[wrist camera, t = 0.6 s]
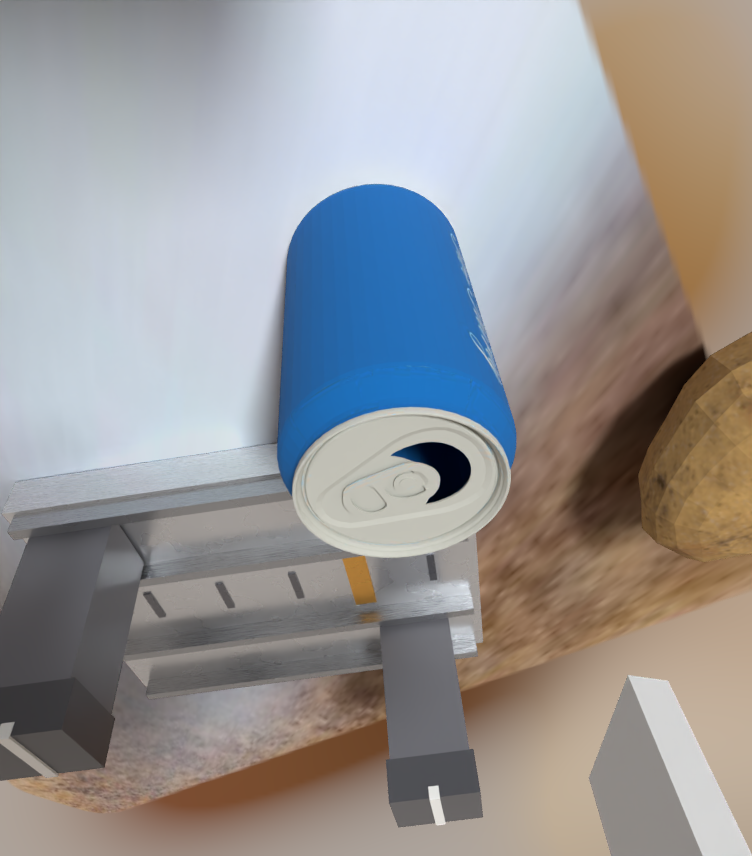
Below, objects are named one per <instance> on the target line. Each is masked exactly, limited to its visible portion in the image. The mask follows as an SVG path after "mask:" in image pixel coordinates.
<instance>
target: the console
mask: <svg viewBox="0 0 752 856" xmlns="http://www.w3.org/2000/svg"><path fill="white" fill-rule="evenodd" d="M2 515H3V516H4V517H5V519H6V520H7V521H8V522H9V523H10V526H9V529H8V531H7V533H8V534H9V535H10V536H11V537H12V538H13V540H17V539H23V540H24V541H25V543H26V544H27V542H28V539H29V538H31V537H38V536H44V535H51V534H58V533H65V532H72V531H79V530H86V529H93V528H100V527H107V526H113V525H120V527H121V528H122V530H123V531H124V533H125V535H126V536H127V538H128V539H129V541H130V542H131V544H132V545H133V547H134V548H135V550H136V551H137V553H138V554H139V556H140V557H141V559H142V561H143V562H144V566H143V570H142V575H141V580H140V584H139V589H138V593H137V598H136V603H135V607H134V612H133V617H132V621H131V626H130V630H129V635H128V640H127V644H126V649H125V654H124V658H123V661H125V663H126V664H127V665H128V666H129V667H130V669H131V670H132V671H133V672H134V673H135V675H136V676H137V677H138V678H139V679H140V681H141V682H142V683H143V684H144V685H145V687H147V691H146V696H147V697H148V698H149V699H157V698H164V697H172V696H179V695H187V694H195V693H202V692H210V691H218V690H225V689H233V688H240V687H248V686H256V685H263V684H271V683H278V682H286V681H294V680H301V679H309V678H317V677H324V676H332V675H339V674H347V673H355V672H362V671H370V670H377V669H383V664H382V651H381V638H380V627H384V626H391V625H399V624H406V623H413V622H421V621H428V620H436V619H443V618H448V620H449V626H450V632H451V638H452V645H453V651H454V657H455V659H461V658H469V657H476V656H478V654H477V647H476V643H480V642H483V635H482V620H481V605H480V590H479V575H478V560H477V545H476V533H475V534H473V535H471V536H470V537H468V538H467V539H465V540H463V541H461V542H459V543H457V544H455V545H452V546H450V547H447V548H445V549H441V550H438V551H435V552H431V553H427V554H423V555H417V556H410V557H399V558H380V557H369V556H363V555H358V554H354V553H350V552H346V551H344V550H341V549H338V548H336V547H333V546H331V545H329V544H328V543H326V542H324V541H322V540H321V539H319V538H318V537H316V536H315V535H314V534H313V533H312V532H310V531H309V530H308V529H307V528H306V526H305V525H304V524H303V523H302V522H301V520H300V518H299V516H298V515H297V513H296V510H295V507H294V504H293V498H292V496H291V494H290V493H289V491H288V489H287V488H286V486H285V484H284V482H283V480H282V477H281V474H280V471H279V467H278V461H277V443H273V444H267V445H260V446H253V447H247V448H240V449H233V450H226V451H220V452H213V453H206V454H200V455H193V456H186V457H180V458H173V459H166V460H159V461H153V462H146V463H139V464H133V465H126V466H119V467H113V468H106V469H99V470H92V471H86V472H79V473H72V474H66V475H59V476H52V477H46V478H39V479H32V480H25V481H19V482H15V484H14V486H13V488H12V491H11V493H10V495H9V498H8V500H7V502H6V505H5V507H4V510H3V512H2Z"/></svg>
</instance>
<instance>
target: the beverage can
mask: <svg viewBox="0 0 752 856" xmlns="http://www.w3.org/2000/svg"><path fill="white" fill-rule="evenodd" d="M515 451H516V429H515V424H514V420H513V417H512V414H511V410H510V407H509V404H508V401H507V397H506V394H505V391H504V388H503V385H502V381H501V378H500V375H499V372H498V369H497V365H496V362H495V359H494V356H493V353H492V349H491V346H490V343H489V340H488V337H487V333H486V330H485V327H484V324H483V321H482V317H481V314H480V311H479V308H478V305H477V301H476V298H475V295H474V292H473V289H472V285H471V282H470V279H469V276H468V273H467V269H466V266H465V263H464V260H463V257H462V253H461V250H460V247H459V244H458V241H457V238H456V235H455V232H454V230H453V228H452V226H451V224H450V223H449V221H448V219H447V218H446V217H445V215H444V214H443V213H442V212H441V211H440V210H439V209H438V208H437V207H436V206H435V205H434V204H433V203H432V202H430V201H429V200H427V199H426V198H425V197H423V196H421V195H419V194H417V193H415V192H414V191H411V190H408V189H405V188H403V187H398V186H394V185H387V184H365V185H359V186H354V187H350V188H347V189H344V190H341V191H339V192H337V193H335V194H332V195H330V196H329V197H327V198H326V199H324V200H322V201H321V202H320V203H318V204H317V205H316V206H315V207H314V208H312V209H311V210H310V211H309V213H308V214H307V215H306V216H305V217H304V218H303V220H302V221H301V223H300V224H299V225H298V227H297V229H296V231H295V233H294V235H293V237H292V240H291V243H290V246H289V251H288V256H287V273H286V292H285V310H284V329H283V347H282V366H281V385H280V403H279V422H278V440H277V461H278V467H279V471H280V474H281V477H282V480H283V482H284V484H285V486H286V488H287V489H288V491H289V493H290V494H291V496H292V498H293V504H294V507H295V510H296V513H297V515H298V516H299V518H300V520H301V522H302V523H303V524H304V525H305V526H306V528H307V529H308V530H309V531H310V532H312V533H313V534H314V535H315V536H316V537H318V538H319V539H321V540H322V541H324V542H326V543H328V544H329V545H331V546H333V547H336V548H338V549H341V550H344V551H346V552H350V553H354V554H358V555H363V556H369V557H380V558H399V557H410V556H417V555H423V554H427V553H431V552H435V551H438V550H441V549H445V548H447V547H450V546H452V545H455V544H457V543H459V542H461V541H463V540H465V539H467V538H468V537H470V536H471V535H473V534H475V533H476V532H478V531H479V530H480V529H481V528H483V527H484V526H485V525H486V524H487V523H489V522H490V521H491V520H492V519H493V518H494V516H495V515H496V514H497V513H498V511H499V510H500V509H501V507H502V505H503V503H504V502H505V500H506V497H507V495H508V492H509V488H510V482H511V472H510V469H511V466H512V464H513V460H514V456H515Z"/></svg>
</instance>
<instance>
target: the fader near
mask: <svg viewBox="0 0 752 856" xmlns="http://www.w3.org/2000/svg"><path fill="white" fill-rule="evenodd" d="M143 566H144V562H143V561H142V559H141V557H140V556H139V554H138V553H137V551H136V550H135V548H134V547H133V545H132V544H131V542H130V541H129V539H128V538H127V536H126V535H125V533H124V531H123V530H122V528H121V527H120V525H113V526H107V527H100V528H93V529H86V530H79V531H72V532H65V533H58V534H51V535H44V536H38V537H31V538H29V539H28V542H27V545H26V547H25V550H24V553H23V555H22V558H21V561H20V563H19V566H18V569H17V571H16V574H15V577H14V579H13V582H12V585H11V587H10V590H9V593H8V595H7V598H6V601H5V603H4V606H3V609H2V611H1V614H0V780H1V781H2V780H10V779H18V778H26V777H34V776H41V775H43V776H44V777H46V778H50V777H58V774H59V773H65V772H73V771H81V770H89V769H97V768H105V763H106V758H107V753H108V749H109V744H110V739H111V734H112V730H113V725H114V720H115V718H114V717H113V716H112V715H111V714H112V709H113V704H114V700H115V695H116V691H117V686H118V681H119V677H120V672H121V667H122V663H123V658H124V654H125V649H126V644H127V640H128V635H129V630H130V626H131V621H132V617H133V612H134V607H135V603H136V598H137V593H138V589H139V584H140V580H141V575H142V570H143Z"/></svg>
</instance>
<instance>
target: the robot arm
mask: <svg viewBox="0 0 752 856" xmlns="http://www.w3.org/2000/svg"><path fill="white" fill-rule="evenodd" d="M589 780H590V784H591V787H592V790H593V794H594V797H595V801H596V804H597V808H598V811H599V815H600V818H601V821H602V825H603V829H604V832H605V836H606V839H607V843H608V846H609V850H610V853H611V856H752V854H751V852H750V850H749V848H748V846H747V844H746V842H745V840H744V838H743V835H742V833H741V832H740V829H739V827H738V825H737V823H736V821H735V819H734V817H733V815H732V813H731V811H730V808H729V807H728V804H727V802H726V800H725V798H724V796H723V794H722V792H721V790H720V788H719V786H718V784H717V781H716V779H715V777H714V775H713V773H712V771H711V769H710V767H709V765H708V763H707V761H706V759H705V757H704V755H703V752H702V750H701V748H700V746H699V744H698V742H697V740H696V738H695V736H694V734H693V732H692V730H691V728H690V726H689V724H688V722H687V719H686V717H685V715H684V713H683V711H682V709H681V707H680V705H679V703H678V701H677V698H676V696H675V694H674V693H673V690H672V689H671V686H670V684H669V682H668V681H667V680H660V679H652V678H645V677H637V676H630V675H628V676H627V679H626V682H625V684H624V687H623V689H622V692H621V695H620V697H619V700H618V703H617V705H616V708H615V711H614V713H613V716H612V718H611V721H610V724H609V726H608V729H607V732H606V734H605V737H604V740H603V742H602V745H601V747H600V750H599V753H598V756H597V758H596V761H595V763H594V766H593V769H592V771H591V774H590V777H589Z"/></svg>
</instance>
